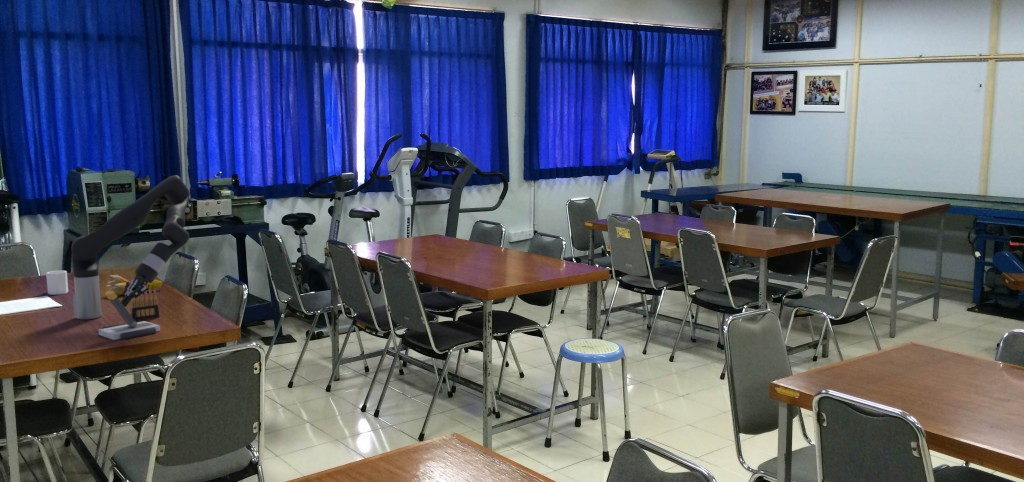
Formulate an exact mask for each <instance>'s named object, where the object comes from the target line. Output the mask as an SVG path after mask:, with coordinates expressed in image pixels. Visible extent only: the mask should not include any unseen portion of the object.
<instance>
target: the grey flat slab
mask: <svg viewBox="0 0 1024 482" xmlns="http://www.w3.org/2000/svg"><path fill="white" fill-rule="evenodd" d="M136 322H137V321H136ZM152 327H155V329H156V332H160V331H161V325H159V324H155V323H152V322H149V321H145V320H142V321H138V322H137V326H136V327H131V326H128V325H127V324H126V325H121V326H115V327H110V328H104V329H102V328H99V329H98V335H99V336H101V337H105V338H107V339H110V340H113V341H115V340H120V339H121V337H120V335H121V334H122V333H126V332H131V331H137V330H142V329H147V328H152Z"/></svg>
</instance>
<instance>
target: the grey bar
mask: <svg viewBox="0 0 1024 482" xmlns="http://www.w3.org/2000/svg"><path fill="white" fill-rule="evenodd" d="M135 322H137V320H135ZM126 324H127V323H126V322H123V323H119V324H113V325H108V326H103V327H102V328H101V329H104V328H110V327H115V326H121V325H126Z"/></svg>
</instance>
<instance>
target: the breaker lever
mask: <svg viewBox="0 0 1024 482" xmlns="http://www.w3.org/2000/svg"><path fill="white" fill-rule="evenodd" d="M104 295H105V297H106V298H107V299H108V300H109V302H110V303H111V304H112V305H113V307H114V308H115V310H116V311H117V312H118V313H119V315H120V316H121V318H122V319H123V320H124V323H127V325H128V326H131V327H136V326H137V321H136V320H134V319H133V318H132V316H131V313H129V311H128V309H127V308H126V307H124V305H123V304H122V303H121V301H122V300H121V299H120V298H119V297H118V296H117V295H116V294H115V293H114V292H113V291H110V289H108V290H107V291H105V293H104ZM135 321H136V322H135Z"/></svg>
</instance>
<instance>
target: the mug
mask: <svg viewBox="0 0 1024 482" xmlns="http://www.w3.org/2000/svg"><path fill="white" fill-rule="evenodd" d="M45 274H46V275H45V276H46V287H47V295H54V296H55V295H62V294H68V293H69V284H68V283H69V282H68V271H67V270H63V269H62V270H52V271H51V270H50V271H47V272H46V273H45Z"/></svg>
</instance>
